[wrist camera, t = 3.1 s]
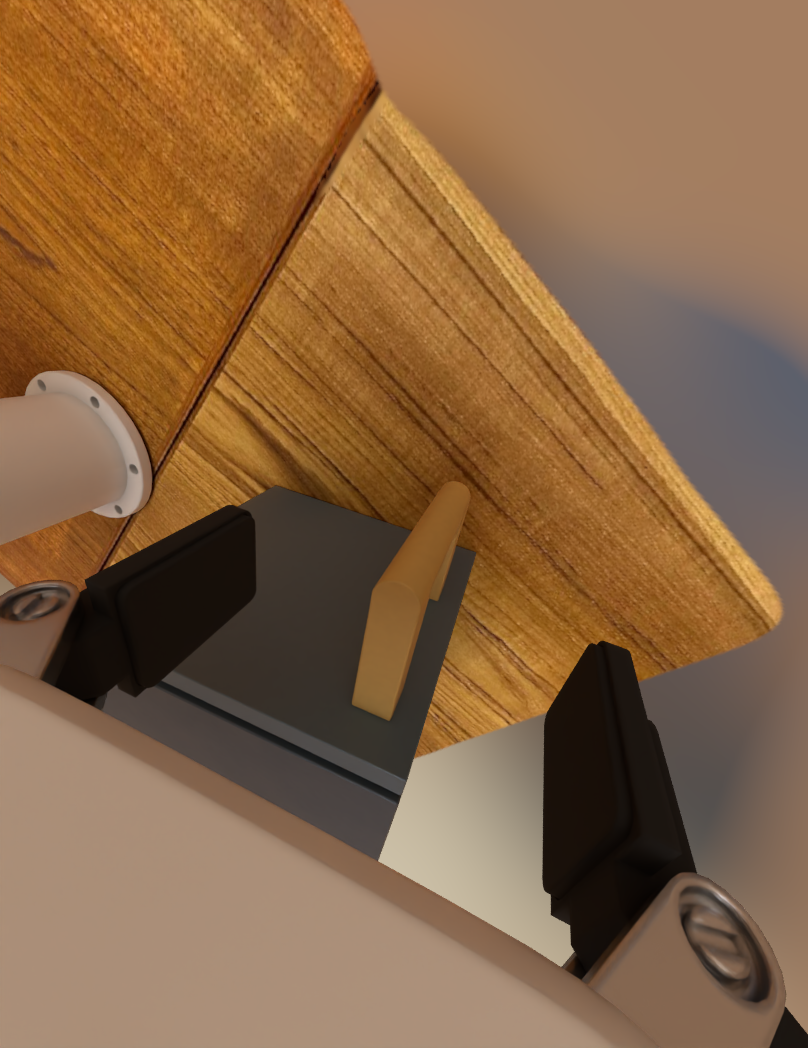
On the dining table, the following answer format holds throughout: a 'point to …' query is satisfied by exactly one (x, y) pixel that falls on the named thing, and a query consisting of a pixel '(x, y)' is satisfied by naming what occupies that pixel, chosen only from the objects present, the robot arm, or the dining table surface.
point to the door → (340, 630)
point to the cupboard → (262, 764)
